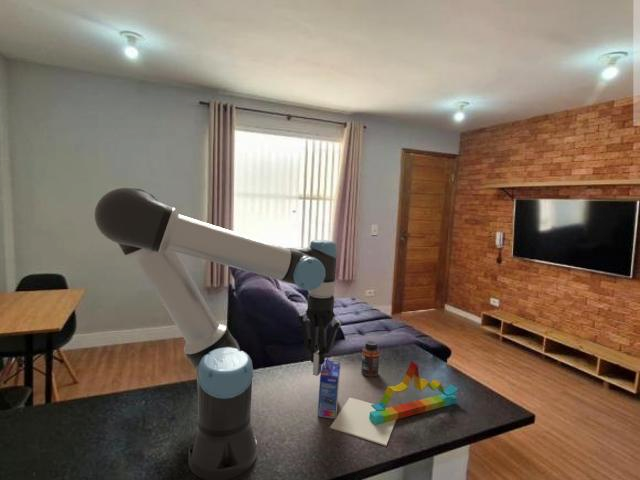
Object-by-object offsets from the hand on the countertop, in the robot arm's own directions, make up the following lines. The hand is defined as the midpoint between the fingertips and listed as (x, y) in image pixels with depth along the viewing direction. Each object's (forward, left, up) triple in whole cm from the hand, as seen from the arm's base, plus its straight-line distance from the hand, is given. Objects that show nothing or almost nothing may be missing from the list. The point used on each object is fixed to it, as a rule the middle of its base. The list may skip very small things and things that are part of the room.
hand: (317, 373), depth 102 cm
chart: (+27, +11, -9) cm, 31 cm away
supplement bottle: (+9, +27, -10) cm, 30 cm away
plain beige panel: (+15, 0, -10) cm, 18 cm away
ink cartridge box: (+4, 0, -10) cm, 10 cm away
